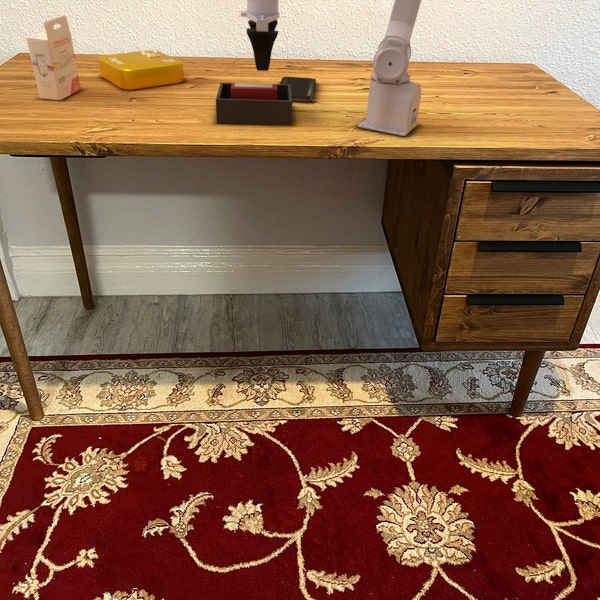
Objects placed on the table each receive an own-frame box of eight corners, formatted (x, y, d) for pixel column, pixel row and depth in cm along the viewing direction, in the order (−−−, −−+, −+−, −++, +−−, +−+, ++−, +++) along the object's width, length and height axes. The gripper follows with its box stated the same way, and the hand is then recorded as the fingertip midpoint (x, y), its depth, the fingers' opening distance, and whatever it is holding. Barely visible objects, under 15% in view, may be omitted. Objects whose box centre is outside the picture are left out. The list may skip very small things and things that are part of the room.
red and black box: (277, 110, 119) (277, 83, 116) (277, 115, 116) (278, 88, 113) (232, 109, 118) (231, 82, 115) (231, 114, 115) (230, 87, 112)
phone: (316, 78, 137) (311, 96, 125) (316, 83, 138) (311, 102, 125) (282, 76, 137) (274, 94, 125) (282, 81, 138) (274, 99, 126)
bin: (290, 106, 123) (290, 84, 120) (291, 125, 113) (292, 101, 110) (221, 104, 122) (220, 82, 119) (216, 123, 112) (215, 99, 110)
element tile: (97, 75, 137) (94, 53, 134) (157, 67, 144) (155, 46, 142) (125, 91, 127) (122, 68, 124) (187, 82, 135) (186, 60, 132)
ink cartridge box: (60, 87, 128) (45, 12, 119) (81, 89, 127) (68, 14, 118) (37, 98, 121) (21, 20, 112) (60, 101, 120) (45, 22, 111)
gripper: (241, -21, 111) (243, 55, 119) (238, -10, 99) (240, 74, 107) (279, -20, 111) (278, 56, 119) (280, -9, 99) (279, 75, 107)
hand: (262, 65), depth 113 cm, fingers open, 7 cm apart
